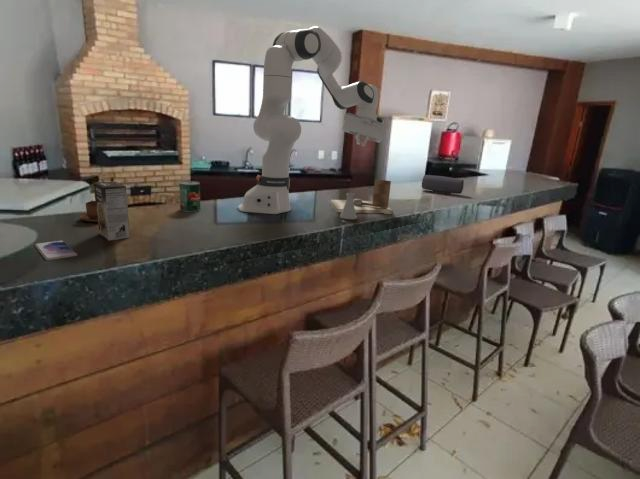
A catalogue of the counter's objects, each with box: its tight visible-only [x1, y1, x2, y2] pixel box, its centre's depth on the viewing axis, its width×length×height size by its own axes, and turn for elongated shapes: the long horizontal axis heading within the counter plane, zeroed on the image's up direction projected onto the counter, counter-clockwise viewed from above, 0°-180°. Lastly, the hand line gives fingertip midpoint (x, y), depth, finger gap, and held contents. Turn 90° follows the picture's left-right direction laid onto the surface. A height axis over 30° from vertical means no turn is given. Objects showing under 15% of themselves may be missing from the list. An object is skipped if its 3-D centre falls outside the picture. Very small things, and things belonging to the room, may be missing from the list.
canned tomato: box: [178, 180, 201, 213], centre depth 159 cm, size 8×8×11 cm
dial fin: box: [353, 179, 392, 208], centre depth 177 cm, size 16×4×12 cm, turn 69°
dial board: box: [329, 199, 394, 215], centre depth 182 cm, size 25×20×2 cm
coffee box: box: [93, 181, 131, 242], centre depth 120 cm, size 9×6×16 cm
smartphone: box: [34, 240, 78, 261], centre depth 107 cm, size 7×1×15 cm
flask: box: [339, 192, 358, 220], centre depth 161 cm, size 7×7×10 cm
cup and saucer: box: [78, 200, 98, 223], centre depth 137 cm, size 12×12×6 cm
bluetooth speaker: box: [421, 174, 465, 195], centre depth 236 cm, size 23×9×10 cm, turn 58°
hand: (360, 144), depth 184 cm, fingers closed
